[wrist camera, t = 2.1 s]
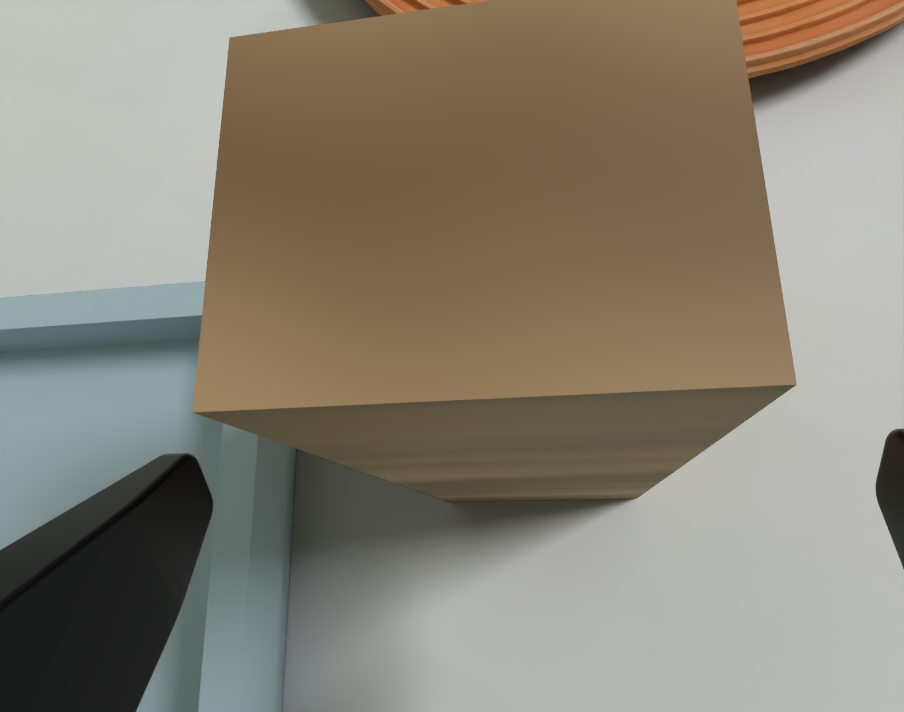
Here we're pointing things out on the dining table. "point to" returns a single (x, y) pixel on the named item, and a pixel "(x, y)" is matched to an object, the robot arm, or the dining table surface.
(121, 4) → the dining table surface
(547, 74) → the walnut block
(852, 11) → the ring
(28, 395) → the tray
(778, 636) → the dining table surface
